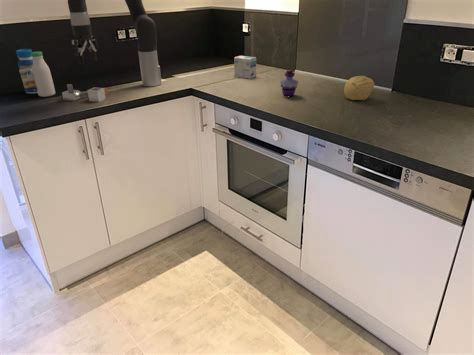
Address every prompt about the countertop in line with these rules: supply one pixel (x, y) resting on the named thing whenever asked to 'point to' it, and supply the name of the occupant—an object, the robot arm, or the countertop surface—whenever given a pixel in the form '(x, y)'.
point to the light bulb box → (245, 67)
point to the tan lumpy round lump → (358, 88)
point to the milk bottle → (42, 75)
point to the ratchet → (75, 94)
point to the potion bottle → (289, 84)
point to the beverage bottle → (26, 70)
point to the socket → (96, 94)
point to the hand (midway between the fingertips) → (88, 62)
